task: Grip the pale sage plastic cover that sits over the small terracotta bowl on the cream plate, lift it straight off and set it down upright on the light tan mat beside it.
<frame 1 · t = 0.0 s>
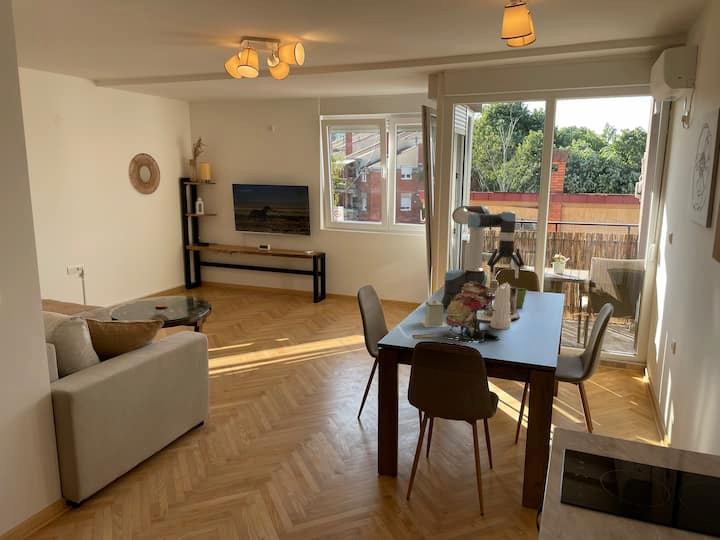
hand: (504, 278, 291), 28 cm above the table, fingers open, 13 cm apart
decorative vase: (500, 326, 297), on the table
coffee box: (507, 312, 329), on the table
rose bouquet: (466, 337, 277), on the table
sage cover: (433, 323, 298), point 1 cm above the table, touching cream plate
cream plate: (433, 325, 298), on the table
tan mat: (421, 333, 282), on the table
plant pot: (516, 307, 342), on the table
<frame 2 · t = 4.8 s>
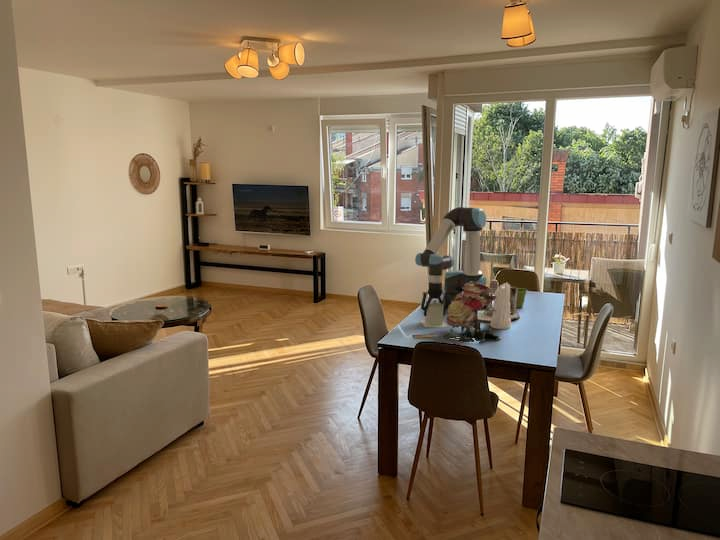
hand: (434, 321, 298), 2 cm above the table, fingers closed on sage cover, 8 cm apart
sage cover: (433, 323, 298), point 1 cm above the table, touching cream plate, gripper
everything else where it was.
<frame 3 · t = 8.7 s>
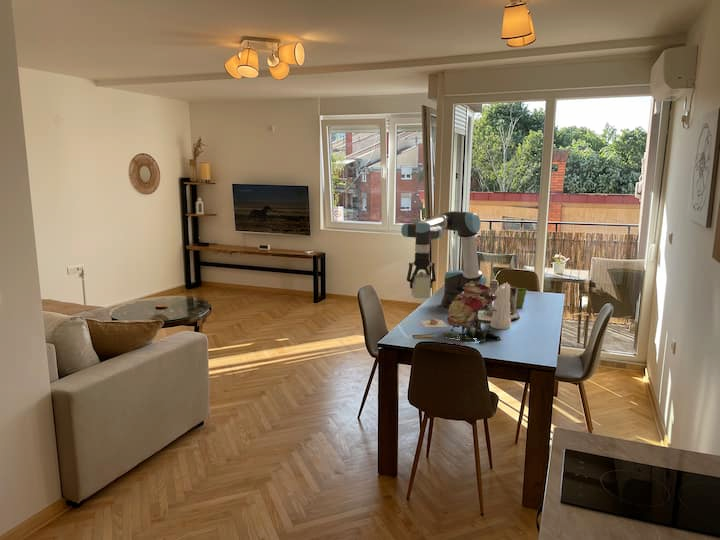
hand: (420, 294, 281), 21 cm above the table, fingers closed on sage cover, 8 cm apart
sage cover: (420, 296, 281), point 20 cm above the table, touching gripper
everything else where it was.
when the fingers open (4 cm above the table, at t = 12.9 s): sage cover drops 2 cm, resting on tan mat.
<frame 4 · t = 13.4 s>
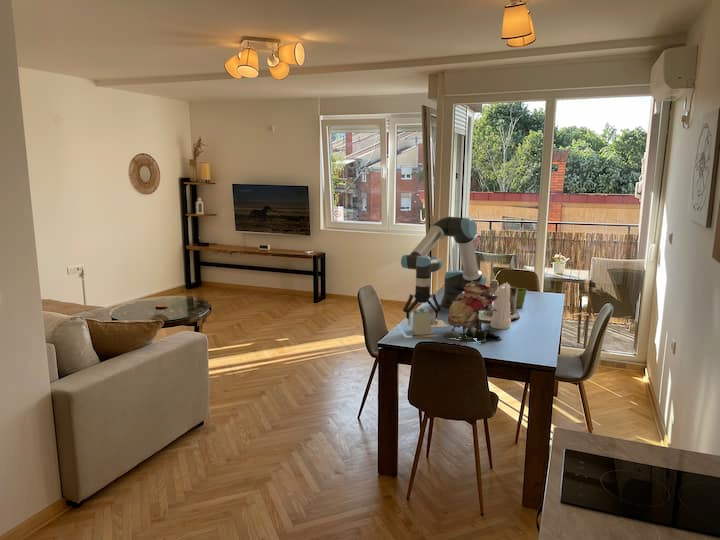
hand: (421, 324, 281), 5 cm above the table, fingers open, 13 cm apart
sage cover: (421, 332, 282), point 1 cm above the table, touching tan mat
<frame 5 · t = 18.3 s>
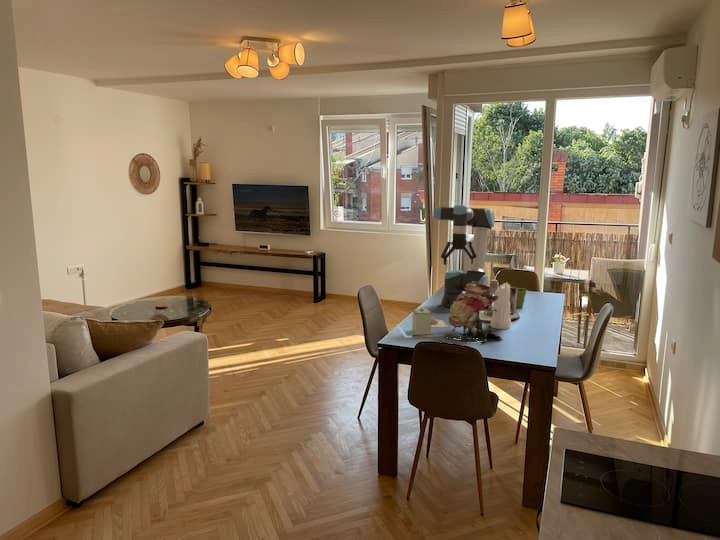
hand: (457, 270, 298), 31 cm above the table, fingers open, 13 cm apart
at the end: sage cover inside the target area on the tan mat (0.0 cm from its centre), point 0.6 cm above the tan mat's base; sage cover tilted 0°; the gripper is holding nothing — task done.
